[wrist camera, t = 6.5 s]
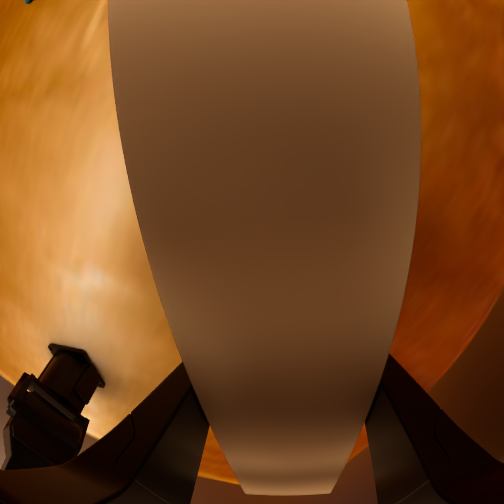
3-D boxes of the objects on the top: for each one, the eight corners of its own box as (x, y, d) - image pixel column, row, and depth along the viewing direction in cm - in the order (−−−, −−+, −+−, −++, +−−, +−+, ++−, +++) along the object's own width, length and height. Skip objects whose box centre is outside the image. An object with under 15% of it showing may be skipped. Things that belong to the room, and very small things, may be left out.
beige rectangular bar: (328, 441, 14) (330, 493, 11) (251, 443, 15) (245, 494, 11) (345, -8, 5) (384, -69, 2) (174, 8, 5) (109, -39, 2)
